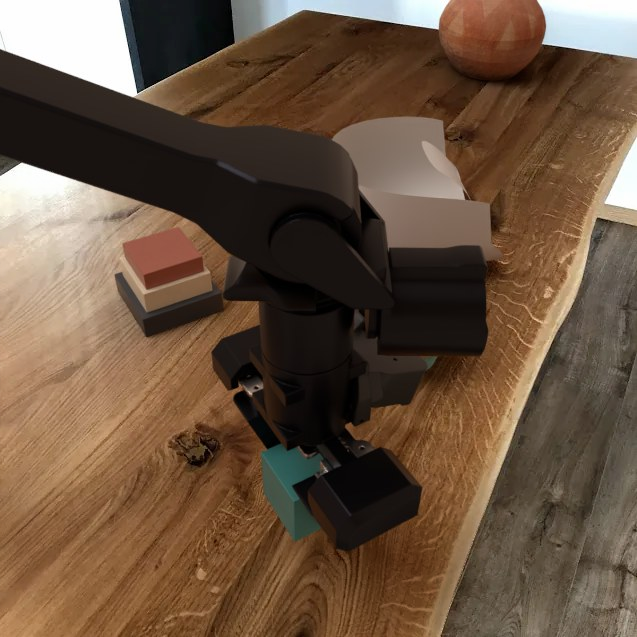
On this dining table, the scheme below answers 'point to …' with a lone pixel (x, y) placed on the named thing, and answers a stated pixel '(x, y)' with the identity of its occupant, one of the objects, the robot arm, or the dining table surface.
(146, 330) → the stack
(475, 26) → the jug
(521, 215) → the dining table surface
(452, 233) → the bowl
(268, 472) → the toy cube
